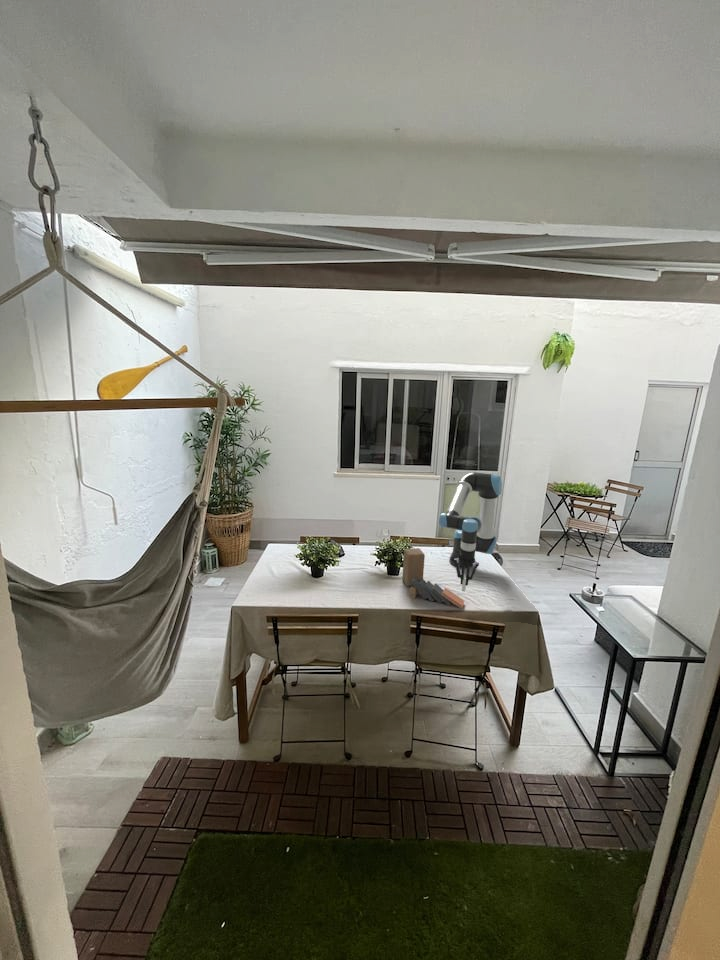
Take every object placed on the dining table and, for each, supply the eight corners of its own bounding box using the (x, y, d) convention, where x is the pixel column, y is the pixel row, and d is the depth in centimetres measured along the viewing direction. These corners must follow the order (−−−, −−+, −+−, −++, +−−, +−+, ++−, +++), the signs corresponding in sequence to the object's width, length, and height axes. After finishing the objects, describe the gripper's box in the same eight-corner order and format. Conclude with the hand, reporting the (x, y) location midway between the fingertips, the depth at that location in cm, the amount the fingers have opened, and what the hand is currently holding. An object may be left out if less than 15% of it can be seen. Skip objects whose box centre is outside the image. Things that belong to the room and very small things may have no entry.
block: (406, 587, 237) (408, 555, 233) (401, 579, 247) (403, 548, 242) (423, 585, 239) (425, 554, 235) (417, 578, 249) (419, 547, 244)
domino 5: (460, 608, 216) (441, 595, 219) (462, 603, 222) (443, 590, 225) (462, 606, 216) (443, 592, 218) (464, 600, 221) (445, 587, 224)
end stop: (413, 591, 233) (414, 581, 232) (418, 592, 232) (419, 582, 230) (409, 597, 226) (410, 587, 224) (414, 599, 225) (415, 589, 223)
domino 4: (448, 605, 219) (431, 590, 221) (450, 600, 224) (433, 585, 226) (450, 603, 218) (433, 588, 220) (452, 598, 223) (435, 583, 225)
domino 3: (439, 603, 221) (423, 587, 222) (441, 598, 226) (426, 582, 228) (442, 601, 220) (426, 585, 221) (444, 596, 225) (428, 580, 227)
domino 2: (431, 601, 222) (417, 584, 223) (434, 596, 228) (419, 579, 229) (434, 600, 221) (419, 582, 223) (436, 595, 227) (422, 578, 228)
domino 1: (425, 599, 223) (410, 582, 225) (427, 594, 229) (413, 577, 230) (427, 597, 222) (413, 580, 224) (430, 592, 228) (416, 575, 229)
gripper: (453, 549, 210) (450, 590, 216) (479, 553, 205) (475, 596, 211) (456, 544, 217) (452, 584, 223) (481, 548, 212) (477, 589, 218)
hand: (463, 590), depth 217 cm, fingers closed
